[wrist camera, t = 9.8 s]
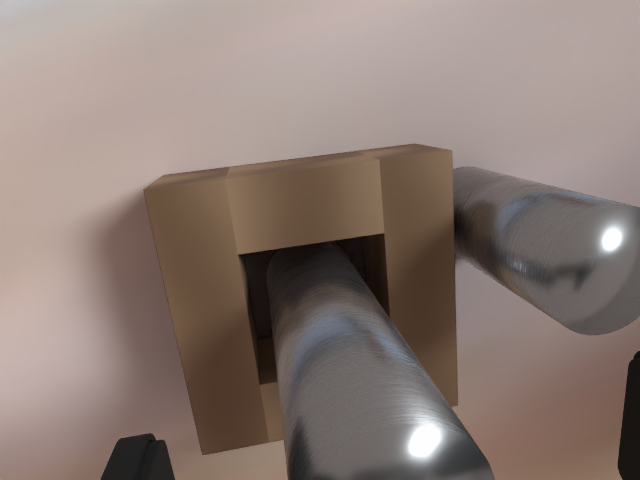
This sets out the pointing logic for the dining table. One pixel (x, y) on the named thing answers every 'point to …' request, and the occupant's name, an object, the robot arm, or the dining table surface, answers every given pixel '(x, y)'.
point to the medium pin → (551, 247)
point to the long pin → (355, 381)
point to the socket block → (294, 230)
